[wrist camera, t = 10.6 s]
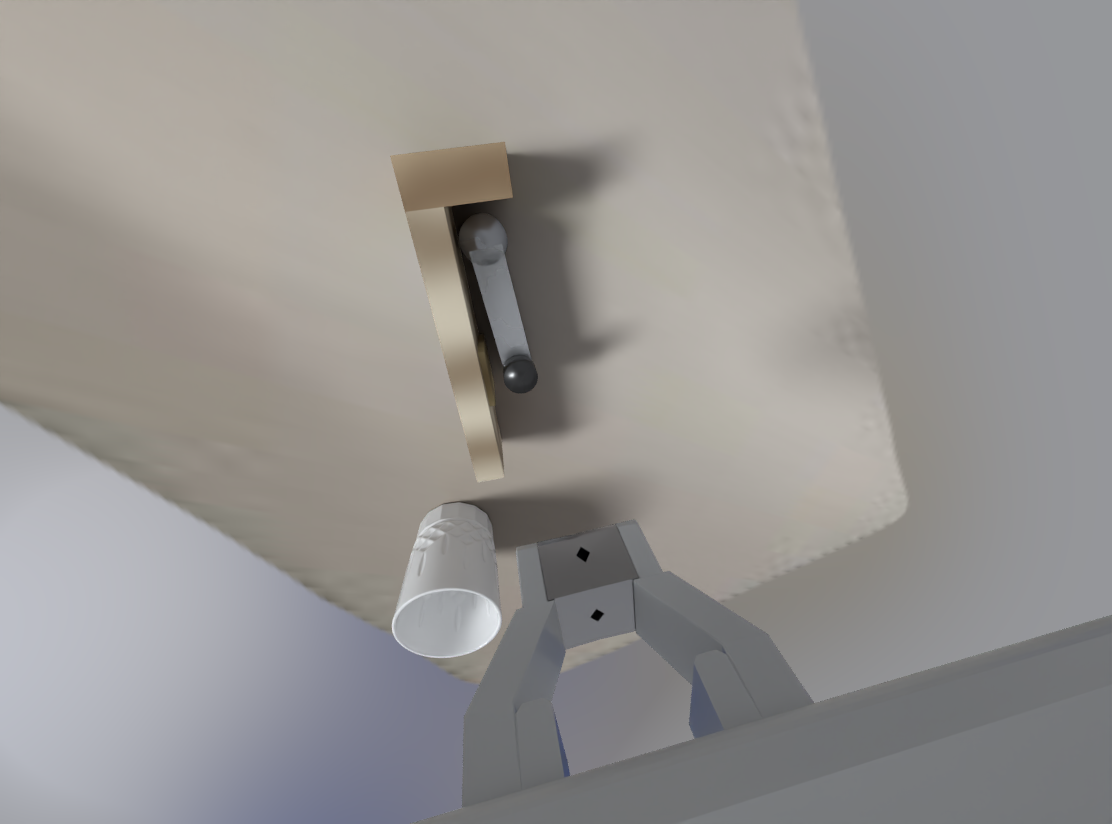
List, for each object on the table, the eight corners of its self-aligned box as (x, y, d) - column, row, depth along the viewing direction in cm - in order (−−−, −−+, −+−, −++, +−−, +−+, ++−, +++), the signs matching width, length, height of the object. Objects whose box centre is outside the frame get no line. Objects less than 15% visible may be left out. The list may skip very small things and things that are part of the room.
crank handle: (456, 218, 26) (450, 221, 21) (498, 208, 26) (501, 209, 22) (501, 370, 31) (504, 398, 27) (536, 361, 31) (545, 387, 27)
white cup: (508, 544, 40) (515, 638, 32) (433, 567, 40) (419, 669, 31) (481, 485, 36) (480, 575, 28) (398, 511, 36) (371, 610, 28)
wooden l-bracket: (408, 165, 24) (390, 155, 20) (500, 153, 25) (504, 141, 20) (478, 443, 34) (477, 482, 29) (543, 431, 35) (553, 468, 30)
